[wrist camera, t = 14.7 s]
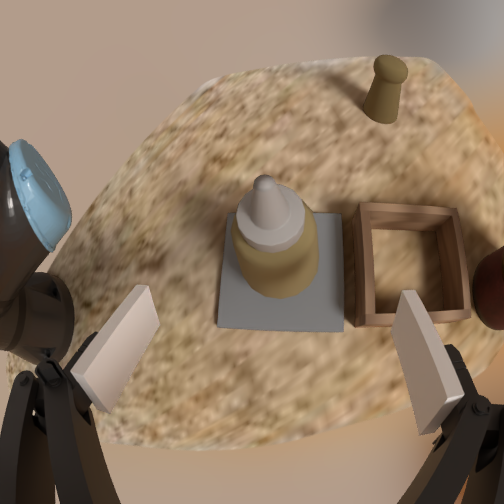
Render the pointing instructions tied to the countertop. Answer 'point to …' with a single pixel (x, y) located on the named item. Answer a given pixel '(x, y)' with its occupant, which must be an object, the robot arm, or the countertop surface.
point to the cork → (385, 89)
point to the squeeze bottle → (275, 240)
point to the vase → (490, 290)
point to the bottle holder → (417, 220)
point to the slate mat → (295, 307)
